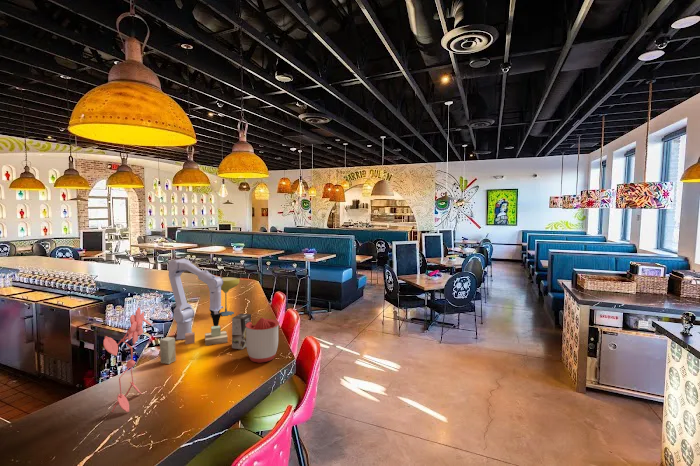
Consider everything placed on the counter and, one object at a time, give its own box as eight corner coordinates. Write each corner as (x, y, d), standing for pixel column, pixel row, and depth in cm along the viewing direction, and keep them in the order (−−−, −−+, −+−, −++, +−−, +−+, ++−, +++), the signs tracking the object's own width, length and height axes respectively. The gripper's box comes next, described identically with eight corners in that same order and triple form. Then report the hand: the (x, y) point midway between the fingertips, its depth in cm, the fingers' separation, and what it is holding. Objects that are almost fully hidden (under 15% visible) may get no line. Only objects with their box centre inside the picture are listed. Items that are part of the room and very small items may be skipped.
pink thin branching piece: (95, 427, 108) (96, 320, 107) (131, 387, 134) (132, 300, 132) (147, 423, 111) (148, 319, 110) (173, 385, 136) (174, 300, 135)
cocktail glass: (245, 312, 237) (244, 278, 236) (223, 319, 222) (223, 282, 221) (228, 308, 247) (228, 275, 246) (206, 314, 232) (206, 278, 230)
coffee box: (242, 349, 172) (242, 318, 172) (231, 348, 174) (231, 317, 173) (251, 343, 181) (251, 313, 181) (240, 342, 183) (240, 312, 182)
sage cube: (211, 334, 185) (211, 326, 185) (219, 333, 187) (219, 325, 187) (211, 337, 181) (211, 328, 181) (220, 336, 183) (220, 327, 183)
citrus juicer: (266, 348, 175) (266, 310, 174) (285, 358, 163) (285, 317, 162) (238, 356, 164) (238, 316, 163) (255, 368, 152) (255, 324, 151)
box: (176, 360, 158) (175, 337, 158) (168, 364, 154) (168, 340, 154) (167, 359, 160) (167, 336, 159) (159, 362, 156) (159, 339, 155)
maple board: (205, 338, 187) (204, 333, 187) (225, 335, 192) (225, 330, 192) (205, 345, 177) (205, 340, 177) (227, 342, 182) (227, 337, 182)
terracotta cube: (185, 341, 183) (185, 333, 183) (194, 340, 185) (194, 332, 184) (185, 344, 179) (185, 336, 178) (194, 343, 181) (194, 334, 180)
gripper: (224, 301, 178) (224, 326, 179) (222, 295, 191) (222, 319, 192) (209, 303, 175) (210, 328, 176) (208, 296, 188) (209, 320, 189)
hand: (215, 323), depth 184 cm, fingers open, 7 cm apart
